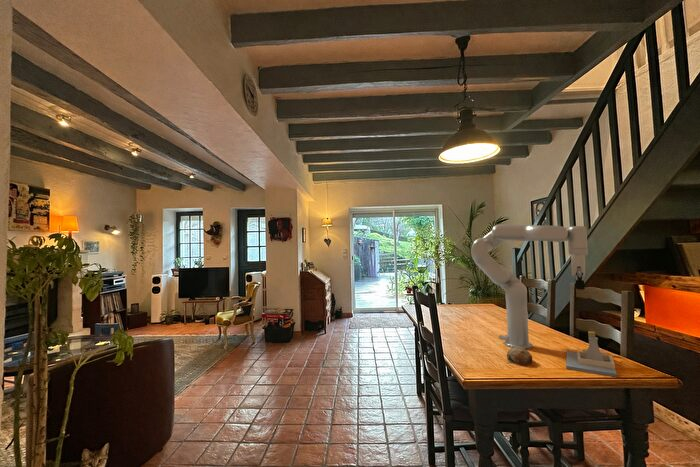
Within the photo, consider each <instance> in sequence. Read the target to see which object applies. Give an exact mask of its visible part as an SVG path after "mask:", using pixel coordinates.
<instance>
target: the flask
mask: <svg viewBox="0 0 700 467" xmlns="http://www.w3.org/2000/svg"><path fill="white" fill-rule="evenodd" d="M589 339H590V343H589V342H588V348H587V349H588V350H587V353H586V355H585V358H584V359H590V360H597V361H604V359H603V357H602V355H601V352H600V351H601V350H600V347H599V344H598V340H599V338H598V337H596V336H595V337H589V336H588V340H589ZM604 362H605V361H604Z"/></svg>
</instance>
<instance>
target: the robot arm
mask: <svg viewBox="0 0 700 467" xmlns="http://www.w3.org/2000/svg"><path fill="white" fill-rule="evenodd" d="M587 233H588V230H587V227H586V226H584V225H574V226H573V225H571V226H569V227H564V226H561V225H541V224H540V225H538V224H537V225H534V224H511V223H510V224H508V223H504V224H503V223H499V224H495V225H494V226H493V227H492V229H491V231H489V232H488V233H487V234H486V235H484V237H479V238H477V239H475V240H474V241H473V243H472V245H471V249H470V255H471V259H472V260H473V262H474V264H476V266H478V268H479V269H480V270H481V271H482V272H483V273H484V275H486V276H487V277H488V278H489V279H490V281H492V283H493V284H495V285H497V286H500V288H501V289H503V290H504V292H505V294H504V296H505V306H506V324H507V327H506V328H507V330H506V331H507V334H506V335H502V334H499V335H498V339H499V340H502V341H503V340H504V345H505V346H507V347H509V348H514V347H520V348H523V349H525V350H528V349H532V348H533V347H534V346H533V343H531V342H530V341H529V340H530V337H529V335H530V334H529V319H528V318H529V317H528V316H529V314H528V300H527V299H528V295H527V294H528V289H527V287H526V285H525V284H524V283H523V282H522V281H521V280H520V279H519V278H518V277H516V275H514V273H512V272H511V271H510V270H509V269H508V268H506V267H504V266H501V265H500V264H499V263H498V262H497V261H496V260H495V259H494V258H493V257H492V256H491V255H490V254H489V252H491V251H492V250H494V249H495V248H497V247H498V246H499V245H501V244H502V243H503V242H505V241H512V242H513V241H514V242H534V241H539V242H541V241H542V242H554V243H560V242H561V243H562V242H567V246H568V256H571V257H570V258H571V259H570V260H571V261H570V262H571V263H570V264H571V276H573V277H575V289H576V290H583V291H584V290H585V289H586V288H585V280H584V277H585V276H586V256H589V249H588V234H587Z"/></svg>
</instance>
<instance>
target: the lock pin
mask: <svg viewBox="0 0 700 467" xmlns="http://www.w3.org/2000/svg"><path fill="white" fill-rule="evenodd" d="M587 334H588V344H589V343H590V339H589V337H596V332H595V331H590V330H588V333H587Z"/></svg>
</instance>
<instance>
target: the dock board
mask: <svg viewBox="0 0 700 467" xmlns="http://www.w3.org/2000/svg"><path fill="white" fill-rule="evenodd" d="M587 350H588V348H582V350H577V351H575V350H566V359H565V360H566V363H565V364H566V365H565V368H566V369H565V370H573V371H578V372H584V373H589V374H595V375H602V376H609V377H615V378H617V377H618V373H617V370H616V364H615V361H614V358H613V356H612V354H611V355H610V354H607V353H606V351H604V350H600V352H601V355H602V357H603V359H604V361H605V362H604V361H597V360H590V359H584V358H585V355H586V353H587Z"/></svg>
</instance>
